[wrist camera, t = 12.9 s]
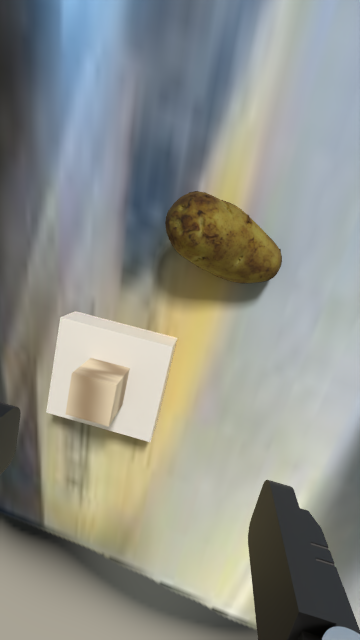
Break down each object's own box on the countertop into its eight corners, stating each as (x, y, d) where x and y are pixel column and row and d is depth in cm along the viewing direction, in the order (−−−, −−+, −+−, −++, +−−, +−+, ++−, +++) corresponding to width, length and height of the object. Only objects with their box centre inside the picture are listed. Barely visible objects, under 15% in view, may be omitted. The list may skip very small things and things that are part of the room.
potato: (232, 307, 38) (235, 321, 31) (161, 229, 38) (147, 222, 30) (286, 261, 37) (304, 263, 29) (213, 178, 36) (212, 156, 28)
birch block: (129, 368, 37) (116, 385, 33) (122, 404, 39) (108, 426, 34) (90, 357, 38) (71, 372, 33) (84, 394, 39) (65, 414, 34)
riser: (177, 337, 40) (173, 347, 36) (156, 425, 43) (150, 442, 39) (75, 311, 41) (60, 317, 37) (61, 398, 44) (46, 412, 40)
